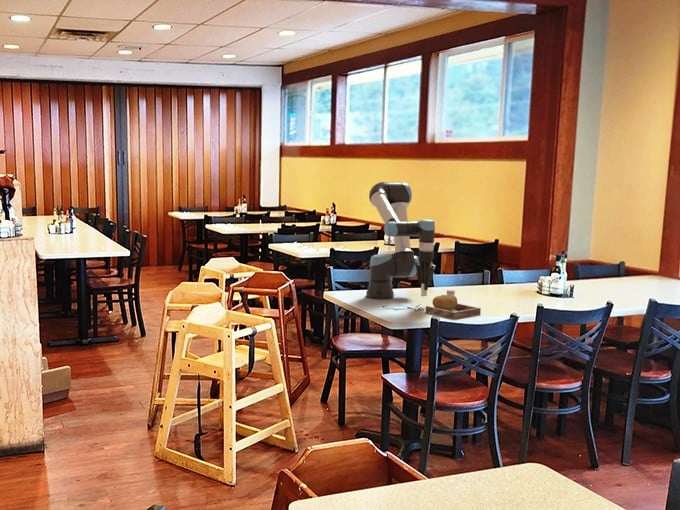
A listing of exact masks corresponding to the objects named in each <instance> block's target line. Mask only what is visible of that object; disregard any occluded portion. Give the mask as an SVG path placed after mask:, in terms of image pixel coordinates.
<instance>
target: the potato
mask: <svg viewBox="0 0 680 510" xmlns="http://www.w3.org/2000/svg"><path fill="white" fill-rule="evenodd" d="M457 298H458V297H456V295H455V296H454V295H447V294H441V295H438V296H434V298H433V299H432V307H434V308H439V309H443V310H448V311H451V310H455V309H454V308H455V307H456V306H457V303H458V299H457Z"/></svg>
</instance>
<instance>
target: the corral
mask: <svg viewBox="0 0 680 510" xmlns="http://www.w3.org/2000/svg"><path fill="white" fill-rule="evenodd" d="M456 309H458V310H457V311H451V310H449V311H448V310H443V309H439V308H435V307H434V306H430V305H429V306H428V305H426V306H425V311H426V312H425V313H427V312H430V313H429V314H431V313H434V314H433V315H435V314H438V315H437V316H439V315H441V316H440V317H444V318H448V317H449V318H448V319H452V318H454V319H453V320H456V319H461V318H467V316H468V317H472V316H471V315H473V316H477V315H476V314H479V315H481V311H482V310H481V309H482V308H481V307H477V306H472V305H467V304H463V303H459V302H457V306H456V307H455V308H454V309H453V310H456ZM461 310H462V311H461Z"/></svg>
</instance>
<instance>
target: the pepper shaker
mask: <svg viewBox="0 0 680 510" xmlns="http://www.w3.org/2000/svg"><path fill="white" fill-rule="evenodd" d="M446 295H454V296H455V297H456V291H455V290H454V289H447V290H446Z"/></svg>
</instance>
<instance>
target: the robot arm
mask: <svg viewBox="0 0 680 510" xmlns="http://www.w3.org/2000/svg"><path fill="white" fill-rule="evenodd" d="M412 192H413V191H412V189H411V186H410V185H409V184H408V183H407V182H401V181H397V182H395V181H391V182H389V181H386V182H385V181H381V182H378V183H376V184H374V185H373V186H372V187H371V189H370V190H369V193H368V194H369V195H368V197H369V201H370V203H371V205H372V206H374V207H375V209H376V210H377V212H378V214H379V216H380V217H381V218H382V221H383V222H384V226H383V227H384V228H383V229H384V230H383V231H384V235H385V236H387V237H393V244H394V251H393V253H392V254H391V253H377V254H374V255H372V256H371V257H370V260H369V283H368V287H367V290H366V293H365V296H366V297H367V298H369V299H375V300H376V299H377V300H388V299H393V298H395V293H394V290H393V285H392V278H412V277H415V276H417V282H419V283H420V290H421V291H420V293H421V294H420V296H421V297H427V296H428V295H427V294H428V289H429V284H432V282H433V277H434V272H435V270H436V268H437V265H436V264H433V259H434V248H435V234H436V233H435V230H436V225H435V220H433V219H420V220H414V221H409V220H408V209H407V208H408V207H409V205H410V203H411V202H412V196H413V195H412ZM410 237H419V238H418V255H415V252H414V251H413V249H412V248H411V239H410Z"/></svg>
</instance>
